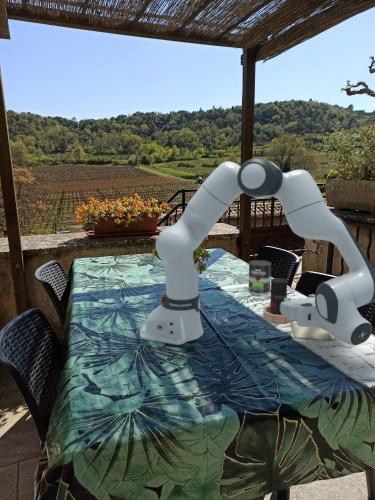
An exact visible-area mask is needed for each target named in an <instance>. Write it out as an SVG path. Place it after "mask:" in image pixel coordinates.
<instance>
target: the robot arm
mask: <svg viewBox="0 0 375 500" xmlns="http://www.w3.org/2000/svg"><path fill="white" fill-rule="evenodd" d="M241 194H245V195H247V196H249V197H251V198H256V199H272V198H276V199H277V200H278V202H279V203H280V205H281V207H282V210H283V213H284V216H285V218H286V221H287V223H288V226H289V228H290V230H291V231H292V232H293V233H294V234H295V235H297V236H299V237H300V238H303V239H307V240H316V241H317V240H321V241H327V242H329V243H332V244H333V245H335V247H336V248H337V250H338V252H339V253H340V255H341V257H342V258H343V260H344V261H345V262H344V263H345V264H346V265H347V266H348V272H347V273H344V274H342V275H340V276H336V277H333V278H331V279H328V280H327V281H323V282H321V283H319V284H318V286H317V288H316V289H315V294H313V293H312V294H308V297H307V298H298V299H292V298H289V297H287V298H284V302H281V305H280V311H281V314H283V315H284V316H285V317H287V318H288V319H290V320H292V321H291V322H295V323H297V325H298V326H300V327H316V328H322V329H323V330H325V331H328V332H329V334H330V336H333V337H334V338H335V339H337V340H339V341H341V342H343V343H345V344H347V345H350V346H359V345H361V344H364V343H365V342H366V341H367V340H369V338H370V337H371V336H372V333H373V326H372V324H371V323H370V321H368V320H367V319H366V318H365V317H363V316H362V315H361V314H360V312H359V311H358V308H360V307H362V306H366V305H369V304H372V303H375V268H374V267H373V265H372V264H371V262H370V260H369V259H368V257H367V256H366V254H365V253H364V251H363V249H362V247H361V246H360V244H359V242H358V240H357V238H356V237H355V235H354V234H353V232H352V230H351V229H350V227H349V226H348V224H347V223H346V222H345V220H344V219H343V218H341V217H339V216H336V215H335V214H334V213H333V212H332V211H331V210H330V209H329V207H328V206H327V204H326V201H325V199H324V197H323V194H322V193H321V190H320V188H319V187H318V185H317V183H316V181H315V179H314V178H313V176H312V175H311V174H310V172H309V171H307V170H304V169H295V170H291V171H288V172H283V170H282V169H281V168H280V167H279V166H278V165H277V164H276V163H274V162H272V161H270V160H267V159H265V158H261V157H254V158H250V159H248V160H246V161H245V162H244V163H242V164H241V165H239V163H236V162H233V161H228V160H227V161H224V162H222V163H221V164H220V165H218V166H217V167H216V168H215V169H214V170H213V171H212V172H211V173H210V174H209V175H208V176H207V178H205V180H204V182H202V184H201V185H200V187H199V188H198V189H197V191H196V192H195V193H194V195H193V196H192V197H191V199H190V200H189V201H188V202H187V206H186V207H185V209H184V210H183V211H184V212H183V213H182V214H181V215H180V216H181V217H180V218H179V219H178V221H177V222H176V223H174V224H172V225H170V226H168V227H166V228H164V229H163V230H162V231H161V233H159V235H158V236H157V238H156V240H155V250H156V252H157V254H158V256H159V257H160V259H161V262H162V266H163V269H164V275H165V289H166V290H164V291H163V292H162V294H161V297H160V301H159V302H160V305H159V306H157V307H156V308H154V309H152V311H151V312H150V313H149V314H148V316H147V318H146V322H145V324H144V325H143V326H142V327H141V328H140V330H139V338H140V339H141V340H147V341H152V342H158V343H165V344H170V345H177V346H181V345H184V344H185V343H187V342H191V341H195V340H197V339H200V337H202V336H203V335H204V328H203V325H202V322H201V320H202V319H201V314H200V309H201V298H200V297H201V296H200V293H199V274H198V270H197V269H196V264H195V260H194V251H195V250H196V249H198V248H199V247H200V245H201V244H202V243H203V241H204V240H205V238H207V236H208V234H209V233H210V232H211V231H212V229H213V228H214V227H215V225H216V223H218V221H219V219H221V217H222V216H223V215H224V214H225V213H226V211H227V210H228V209H229V207H230V206H231V205H232V204H233V203H234V201H235V200H236V199H237V198H239V196H241ZM291 299H292V300H291Z"/></svg>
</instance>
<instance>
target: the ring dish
mask: <svg viewBox="0 0 375 500" xmlns="http://www.w3.org/2000/svg"><path fill="white" fill-rule="evenodd" d="M262 309H263V310H262V315H263V316H262V318H263V320H264V321H267V322H269V323H271V324H280V325H282V324H283V325H285V324H290V322H293V321H292V320H290V319H288V318H287V317H285V316H284V315H273V314H271V313H270V304H269V305H266V306H263V308H262Z"/></svg>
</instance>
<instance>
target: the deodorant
mask: <svg viewBox="0 0 375 500" xmlns="http://www.w3.org/2000/svg"><path fill="white" fill-rule="evenodd" d="M287 295H288V280H287V279H285V278H281V277H275V278H271V282H270V303H269V305H270V313H271V314H273V315H283V314H281V311H280V305H281V302H284V298H288V296H287Z"/></svg>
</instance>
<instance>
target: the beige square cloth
mask: <svg viewBox="0 0 375 500" xmlns="http://www.w3.org/2000/svg"><path fill="white" fill-rule="evenodd" d="M289 324H290V328H291V332H292V335H293V339H295V340H297V339H298V340H311V339H318V340H317V341H329V340H332V341H333V338H332V335H331V334H330V333H329V332H328V331H325V330H323V329H322V328H316V327H300V326H298V325H297V322H295V321H291V322H289Z"/></svg>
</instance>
